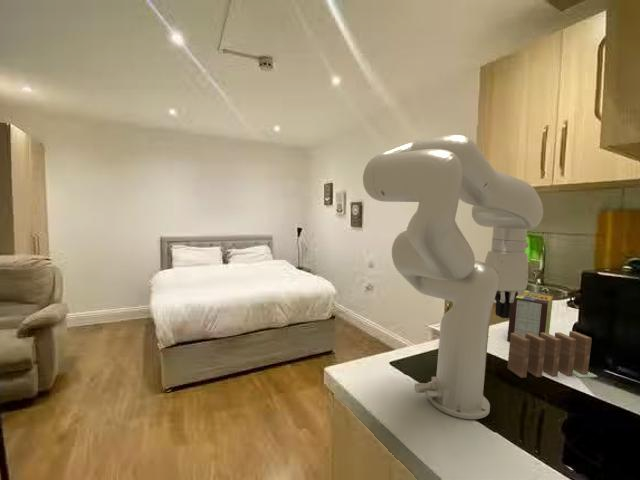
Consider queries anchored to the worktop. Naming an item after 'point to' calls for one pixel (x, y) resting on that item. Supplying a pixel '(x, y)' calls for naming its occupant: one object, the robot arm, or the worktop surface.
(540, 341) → the domino
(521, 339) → the domino
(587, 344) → the domino
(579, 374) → the pad
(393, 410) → the worktop surface
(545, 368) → the domino
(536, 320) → the protein box
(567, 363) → the domino
